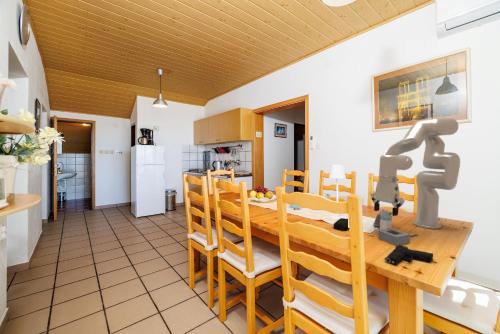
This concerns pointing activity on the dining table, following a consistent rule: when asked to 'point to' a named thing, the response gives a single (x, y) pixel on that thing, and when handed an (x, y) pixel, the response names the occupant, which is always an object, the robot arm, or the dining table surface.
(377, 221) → the rock
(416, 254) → the handgun
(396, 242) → the port
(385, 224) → the plug
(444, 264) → the dining table surface
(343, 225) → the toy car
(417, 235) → the dark grey bar
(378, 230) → the grey square frame
